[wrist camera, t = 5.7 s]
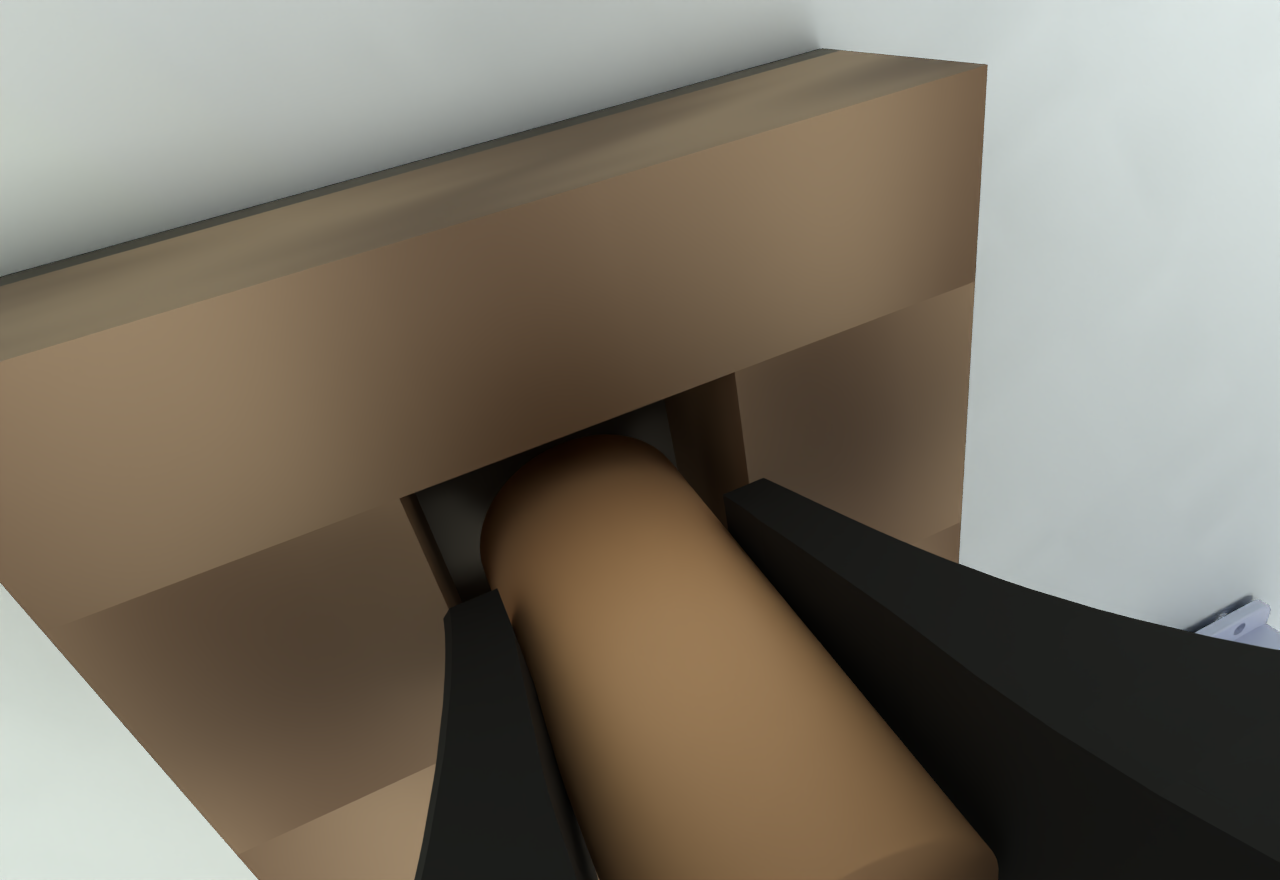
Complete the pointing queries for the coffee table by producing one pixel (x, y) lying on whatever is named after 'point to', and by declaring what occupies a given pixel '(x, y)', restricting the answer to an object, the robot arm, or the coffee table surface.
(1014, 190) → the coffee table surface
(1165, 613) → the coffee table surface
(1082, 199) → the coffee table surface
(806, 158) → the walnut hole plate
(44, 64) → the coffee table surface
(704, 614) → the tan peg
